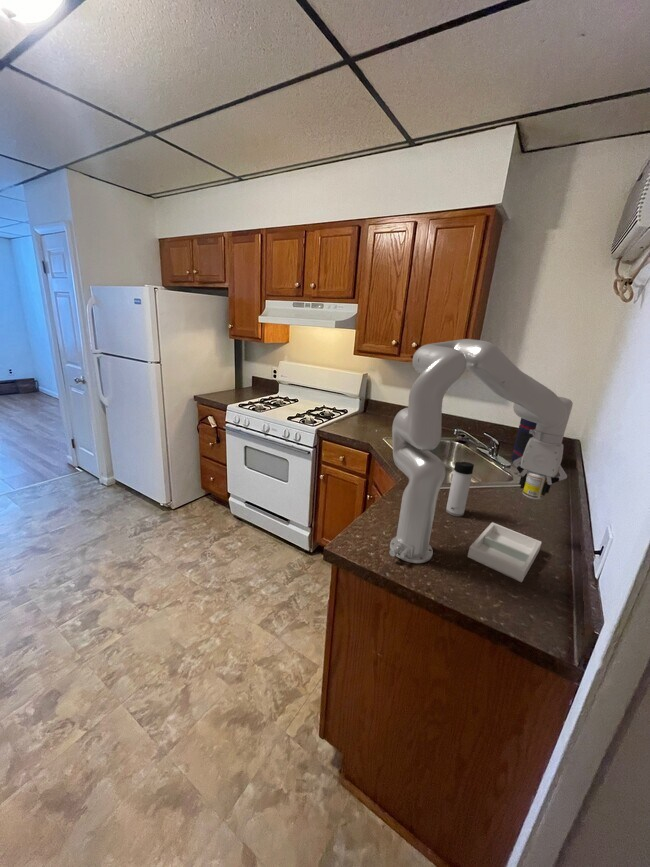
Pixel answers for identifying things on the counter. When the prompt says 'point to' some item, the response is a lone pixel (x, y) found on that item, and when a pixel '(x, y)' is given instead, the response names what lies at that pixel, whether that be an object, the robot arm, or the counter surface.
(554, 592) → the counter surface
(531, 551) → the bay tray
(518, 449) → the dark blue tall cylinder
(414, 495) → the robot arm
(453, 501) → the travel mug
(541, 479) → the supplement bottle
